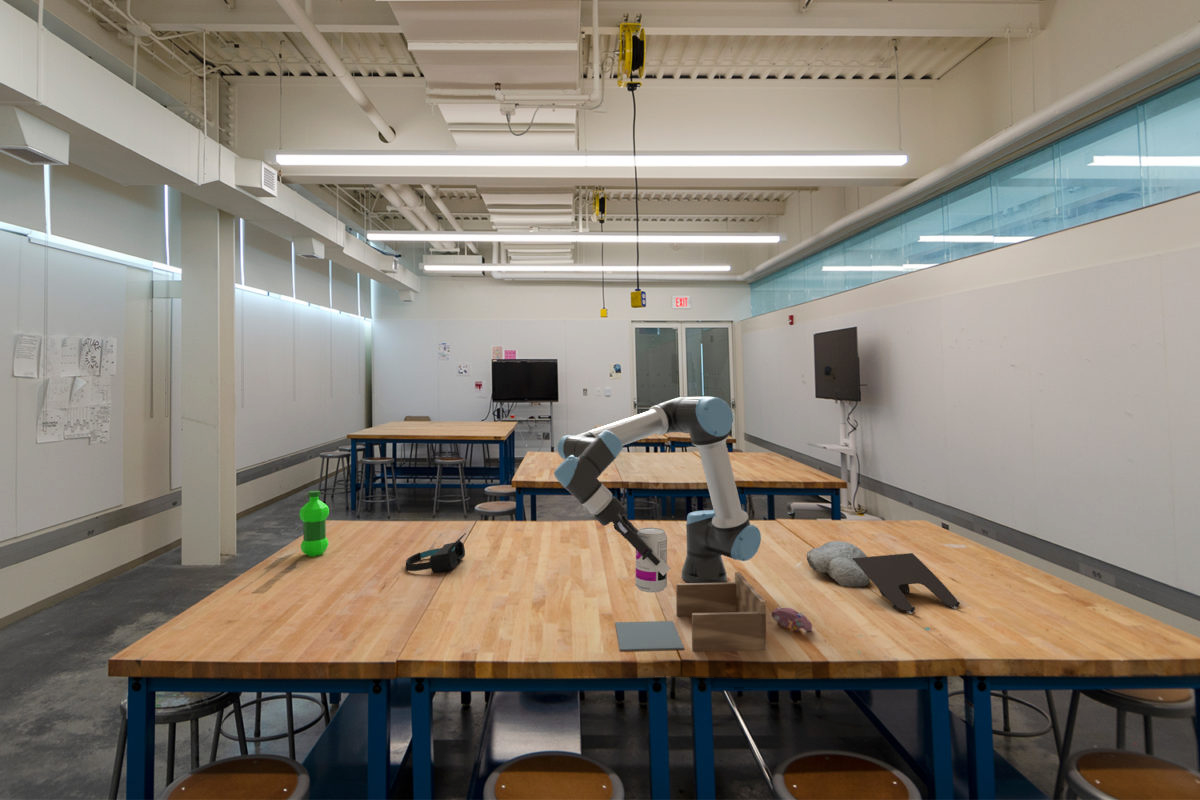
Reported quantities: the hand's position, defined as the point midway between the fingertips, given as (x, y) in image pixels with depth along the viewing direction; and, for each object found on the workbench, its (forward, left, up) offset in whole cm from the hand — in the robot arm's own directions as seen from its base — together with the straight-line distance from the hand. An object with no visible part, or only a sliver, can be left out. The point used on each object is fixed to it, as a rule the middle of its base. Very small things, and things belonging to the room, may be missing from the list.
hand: (663, 566), depth 145 cm
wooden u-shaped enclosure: (-2, +15, -18) cm, 24 cm away
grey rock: (-46, +70, -19) cm, 86 cm away
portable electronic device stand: (-21, +79, -19) cm, 84 cm away
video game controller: (-2, +35, -19) cm, 40 cm away
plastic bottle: (-79, -126, -18) cm, 150 cm away
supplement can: (0, -3, -6) cm, 7 cm away
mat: (0, -4, -18) cm, 19 cm away
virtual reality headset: (-63, -75, -19) cm, 100 cm away
